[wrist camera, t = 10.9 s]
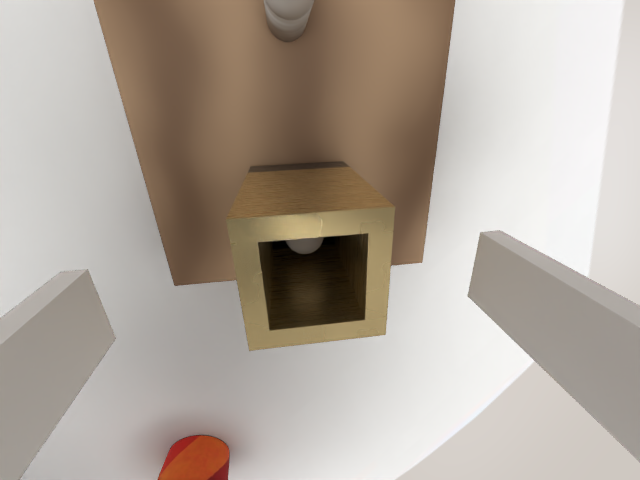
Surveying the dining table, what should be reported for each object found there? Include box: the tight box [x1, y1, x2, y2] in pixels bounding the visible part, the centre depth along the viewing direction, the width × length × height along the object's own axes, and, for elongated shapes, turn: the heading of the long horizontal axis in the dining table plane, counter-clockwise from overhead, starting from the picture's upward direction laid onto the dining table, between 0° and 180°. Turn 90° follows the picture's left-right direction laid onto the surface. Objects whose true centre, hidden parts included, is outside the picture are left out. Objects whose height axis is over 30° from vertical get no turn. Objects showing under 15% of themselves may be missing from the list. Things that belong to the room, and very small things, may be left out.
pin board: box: [94, 0, 455, 286], centre depth 14 cm, size 16×18×7 cm
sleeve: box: [226, 161, 395, 351], centre depth 13 cm, size 5×5×8 cm
